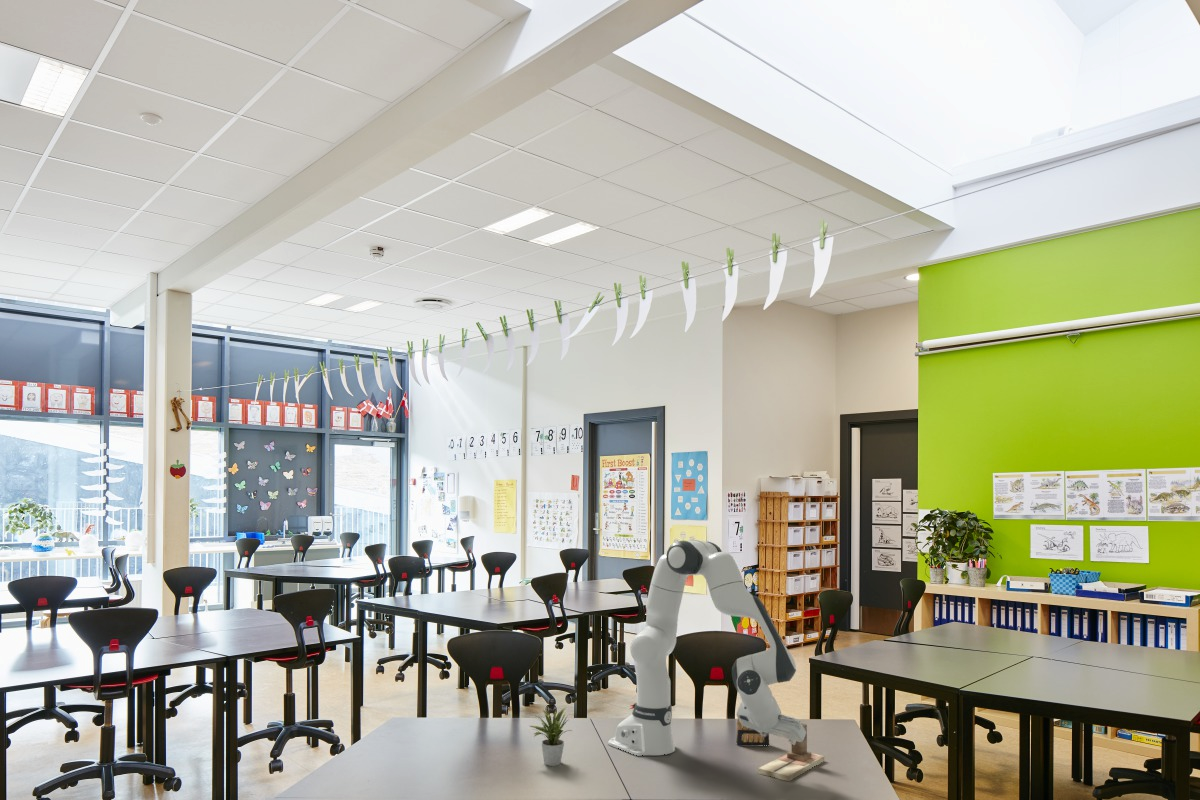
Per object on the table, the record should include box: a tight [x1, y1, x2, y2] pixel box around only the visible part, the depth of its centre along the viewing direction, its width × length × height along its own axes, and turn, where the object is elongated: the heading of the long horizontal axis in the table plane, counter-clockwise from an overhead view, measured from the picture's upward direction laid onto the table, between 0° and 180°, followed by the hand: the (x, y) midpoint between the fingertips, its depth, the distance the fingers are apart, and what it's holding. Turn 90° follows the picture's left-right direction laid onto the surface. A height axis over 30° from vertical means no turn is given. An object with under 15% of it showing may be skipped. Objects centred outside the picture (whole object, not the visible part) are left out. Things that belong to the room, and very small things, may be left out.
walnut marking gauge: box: [786, 720, 812, 762], centre depth 264 cm, size 6×6×11 cm
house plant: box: [529, 707, 573, 767], centre depth 262 cm, size 14×14×16 cm
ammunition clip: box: [736, 718, 770, 747], centre depth 281 cm, size 11×2×12 cm, turn 89°
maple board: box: [757, 752, 825, 782], centre depth 259 cm, size 10×24×2 cm, turn 140°
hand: (778, 738), depth 256 cm, fingers open, 8 cm apart
